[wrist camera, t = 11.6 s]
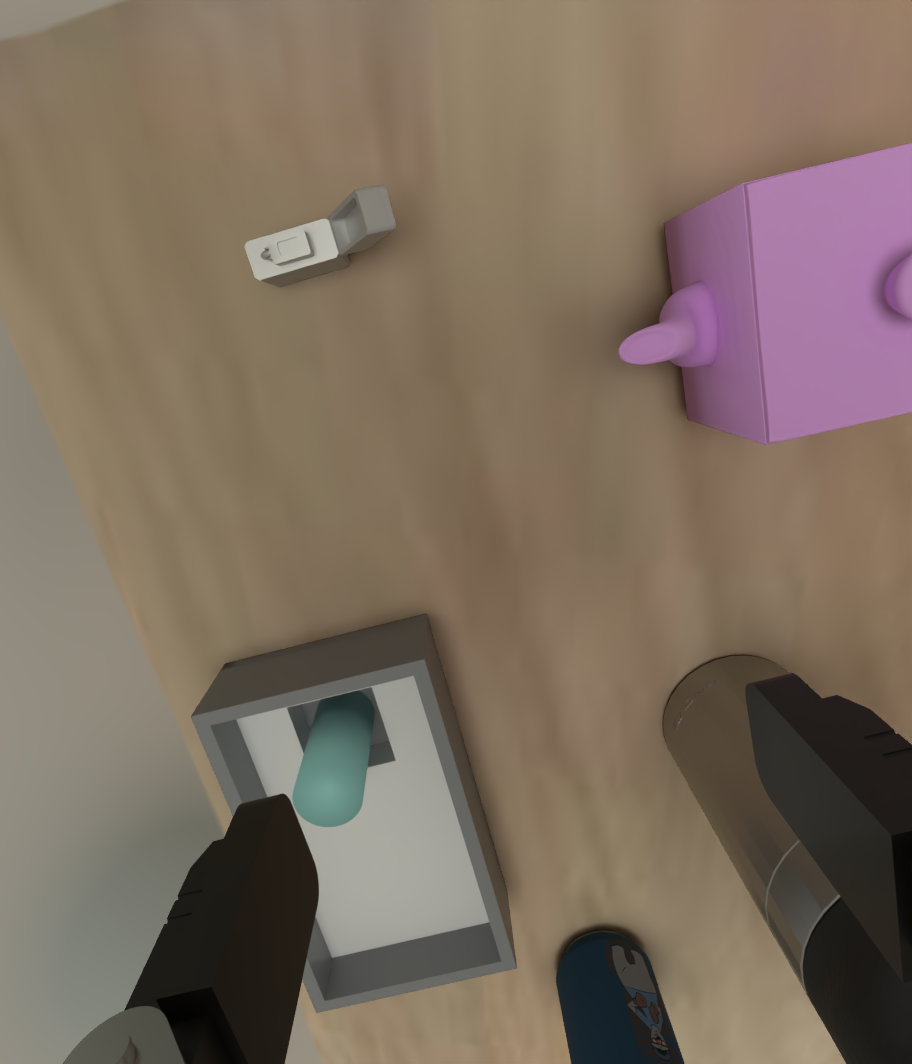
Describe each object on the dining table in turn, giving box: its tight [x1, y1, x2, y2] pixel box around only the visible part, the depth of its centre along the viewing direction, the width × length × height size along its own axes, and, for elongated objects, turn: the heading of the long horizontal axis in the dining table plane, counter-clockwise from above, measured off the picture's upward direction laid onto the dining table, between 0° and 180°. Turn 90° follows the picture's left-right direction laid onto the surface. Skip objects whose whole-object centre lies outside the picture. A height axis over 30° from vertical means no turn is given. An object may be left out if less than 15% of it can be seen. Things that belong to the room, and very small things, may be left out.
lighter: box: [245, 185, 396, 287], centre depth 31 cm, size 7×2×8 cm, turn 105°
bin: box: [191, 614, 517, 1013], centre depth 41 cm, size 13×22×6 cm, turn 14°
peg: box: [292, 690, 374, 827], centre depth 38 cm, size 4×4×8 cm
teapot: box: [619, 143, 912, 445], centre depth 30 cm, size 20×10×13 cm, turn 103°
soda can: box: [556, 930, 684, 1064], centre depth 43 cm, size 7×7×12 cm
